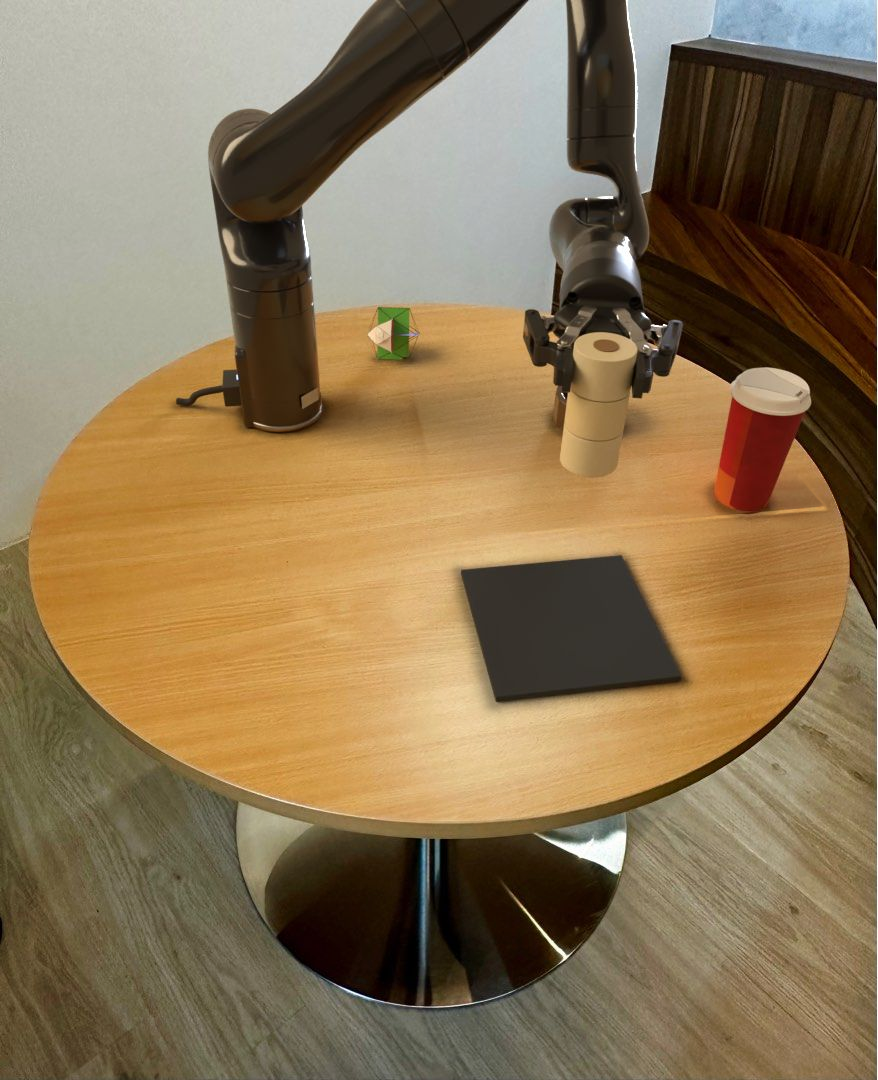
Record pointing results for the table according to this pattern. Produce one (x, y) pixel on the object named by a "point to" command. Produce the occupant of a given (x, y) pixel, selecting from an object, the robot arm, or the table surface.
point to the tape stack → (597, 403)
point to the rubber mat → (565, 628)
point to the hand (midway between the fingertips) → (603, 384)
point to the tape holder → (560, 408)
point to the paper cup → (759, 435)
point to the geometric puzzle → (392, 333)
